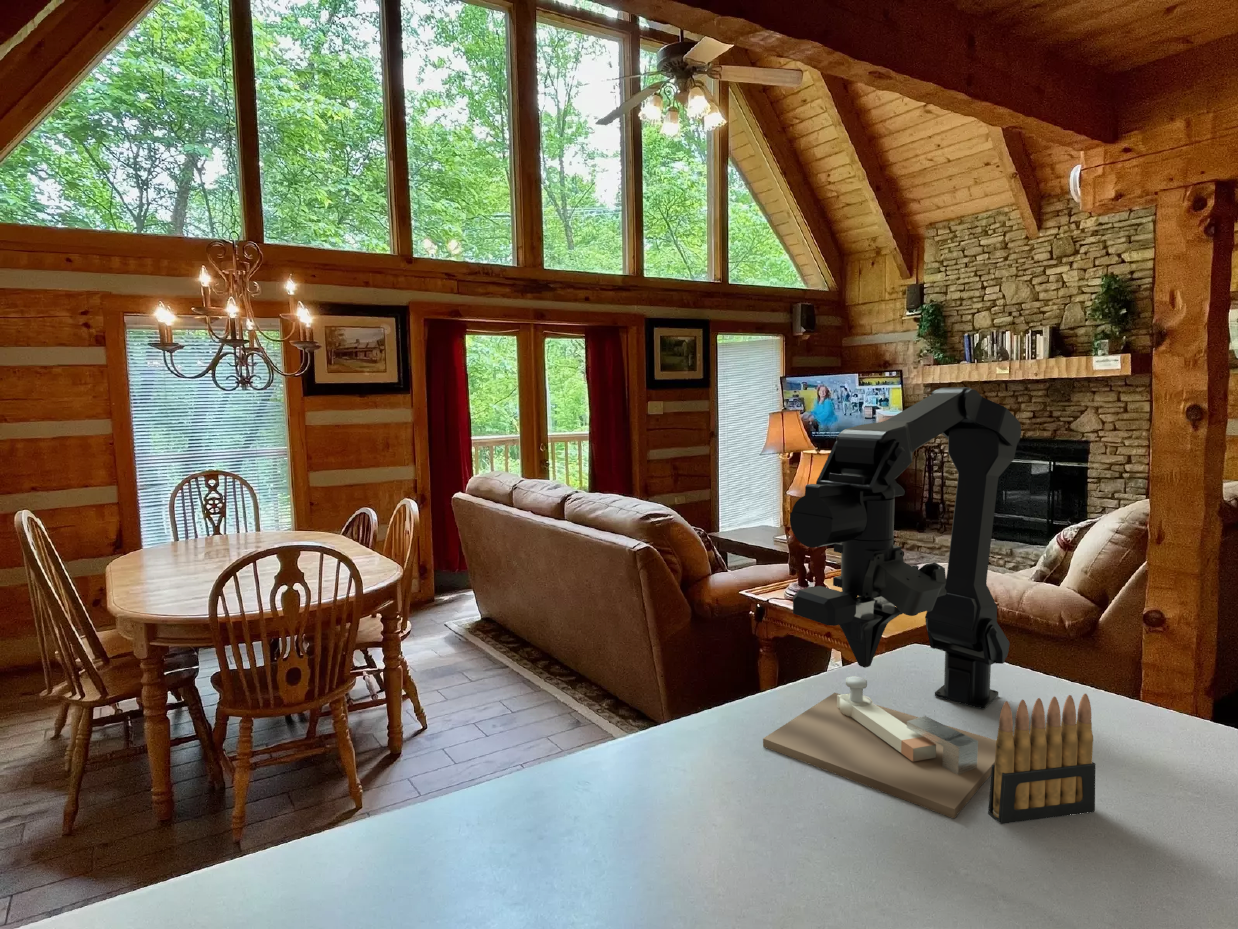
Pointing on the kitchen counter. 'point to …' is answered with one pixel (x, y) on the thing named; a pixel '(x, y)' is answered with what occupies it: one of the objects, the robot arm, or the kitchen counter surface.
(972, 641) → the robot arm
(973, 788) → the base plate
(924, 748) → the bar
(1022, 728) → the ammunition clip
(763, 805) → the kitchen counter surface
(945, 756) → the block
